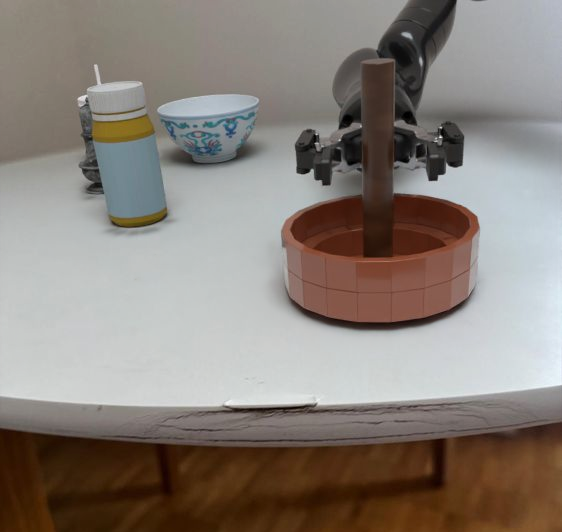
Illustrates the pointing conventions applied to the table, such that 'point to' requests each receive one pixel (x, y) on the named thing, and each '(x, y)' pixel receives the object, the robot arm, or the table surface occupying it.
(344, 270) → the bowl
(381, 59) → the stirring stick
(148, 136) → the bottle
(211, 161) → the chinaware
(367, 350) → the table surface
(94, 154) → the grey tall piece
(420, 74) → the robot arm
